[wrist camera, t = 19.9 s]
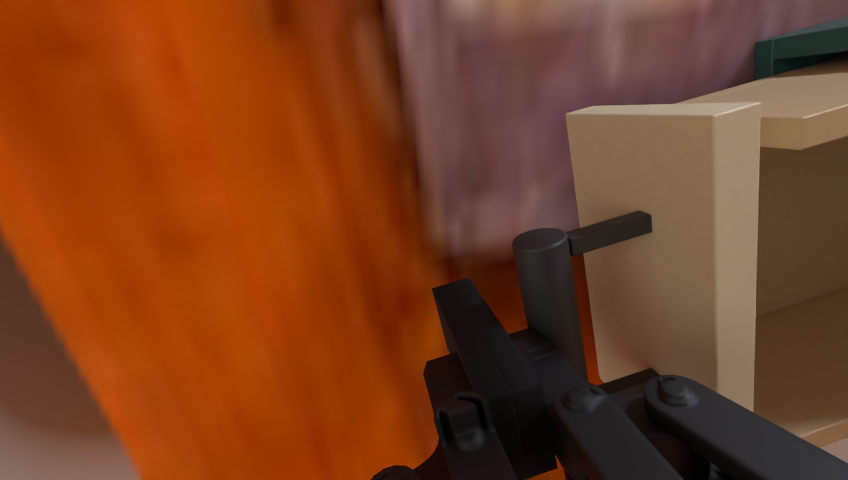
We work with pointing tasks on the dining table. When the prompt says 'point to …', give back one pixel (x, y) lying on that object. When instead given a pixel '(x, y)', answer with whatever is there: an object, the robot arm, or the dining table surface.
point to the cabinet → (801, 48)
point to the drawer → (710, 247)
